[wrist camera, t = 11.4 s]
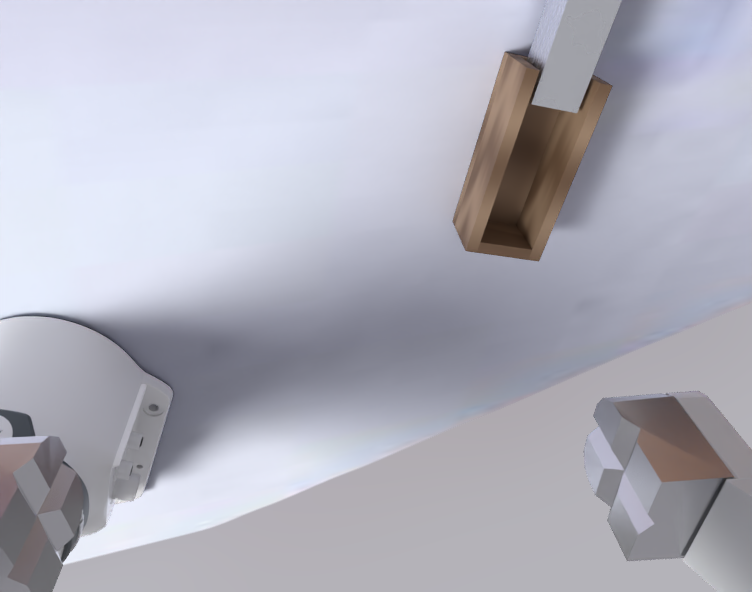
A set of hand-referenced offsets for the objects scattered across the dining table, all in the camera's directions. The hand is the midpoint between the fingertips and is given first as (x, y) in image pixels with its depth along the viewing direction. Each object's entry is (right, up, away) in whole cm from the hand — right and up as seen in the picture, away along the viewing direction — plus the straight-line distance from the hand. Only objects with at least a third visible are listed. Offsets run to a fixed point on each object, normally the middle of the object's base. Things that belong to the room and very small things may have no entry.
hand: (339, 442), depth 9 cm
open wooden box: (+10, +12, +30) cm, 34 cm away
